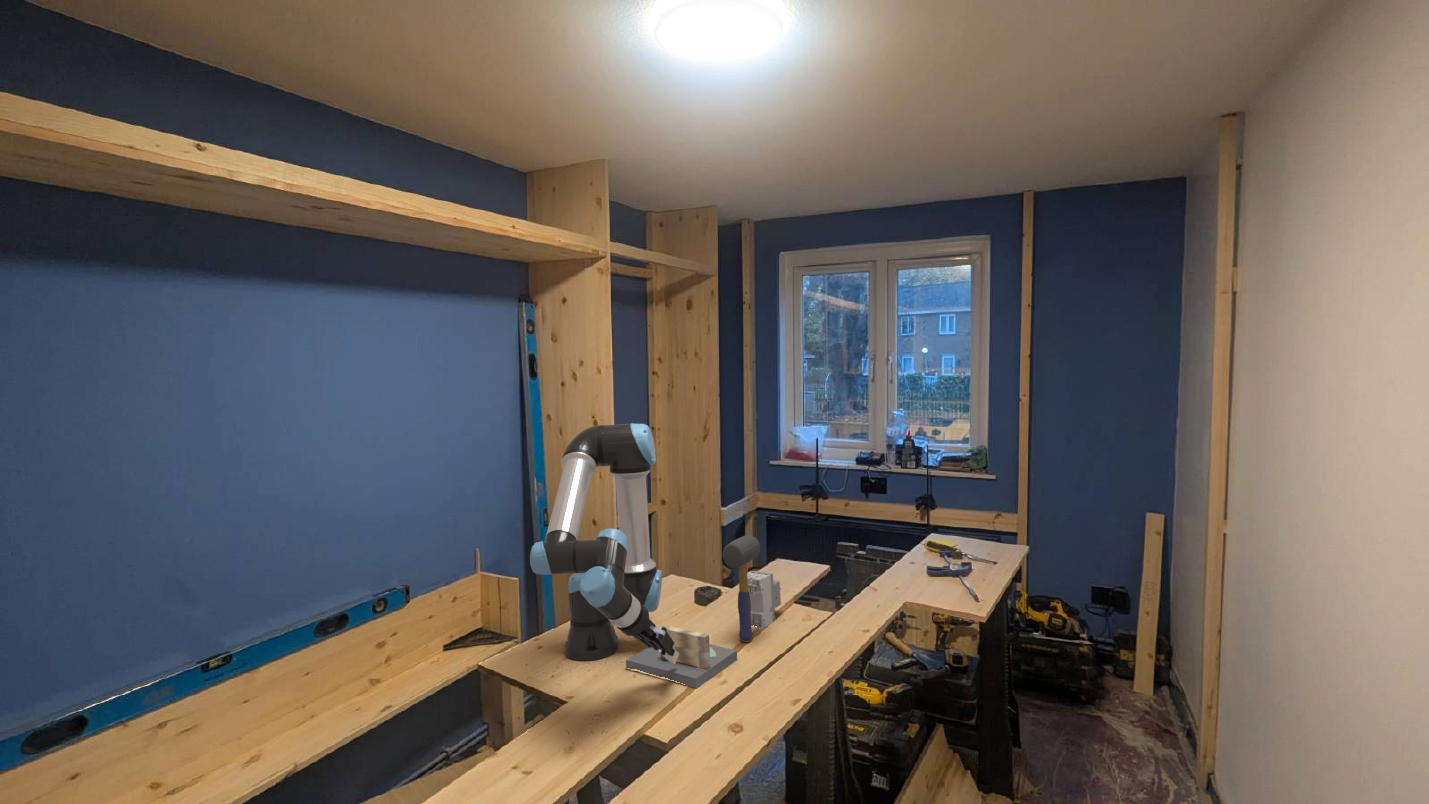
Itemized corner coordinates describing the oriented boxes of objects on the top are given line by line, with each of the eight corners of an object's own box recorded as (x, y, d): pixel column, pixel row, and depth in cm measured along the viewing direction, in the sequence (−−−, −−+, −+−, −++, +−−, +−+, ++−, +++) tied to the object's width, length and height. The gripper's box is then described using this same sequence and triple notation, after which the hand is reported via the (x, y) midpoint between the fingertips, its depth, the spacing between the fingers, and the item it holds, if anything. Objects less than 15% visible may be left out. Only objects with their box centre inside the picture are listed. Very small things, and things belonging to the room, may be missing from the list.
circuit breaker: (783, 614, 205) (781, 568, 205) (762, 629, 193) (760, 580, 193) (763, 611, 209) (760, 565, 209) (741, 625, 197) (739, 577, 197)
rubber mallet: (748, 651, 178) (743, 544, 177) (724, 647, 181) (719, 542, 181) (766, 635, 189) (761, 534, 188) (743, 631, 192) (739, 532, 192)
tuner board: (626, 669, 170) (625, 659, 170) (670, 643, 185) (669, 635, 185) (696, 688, 157) (696, 678, 157) (737, 659, 173) (736, 650, 172)
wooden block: (658, 658, 169) (656, 628, 169) (666, 653, 172) (665, 624, 172) (704, 670, 160) (702, 638, 160) (712, 664, 163) (710, 633, 163)
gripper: (599, 624, 149) (649, 667, 163) (642, 634, 142) (690, 678, 156) (614, 595, 154) (661, 639, 168) (656, 603, 146) (701, 649, 160)
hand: (675, 658), depth 162 cm, fingers closed
